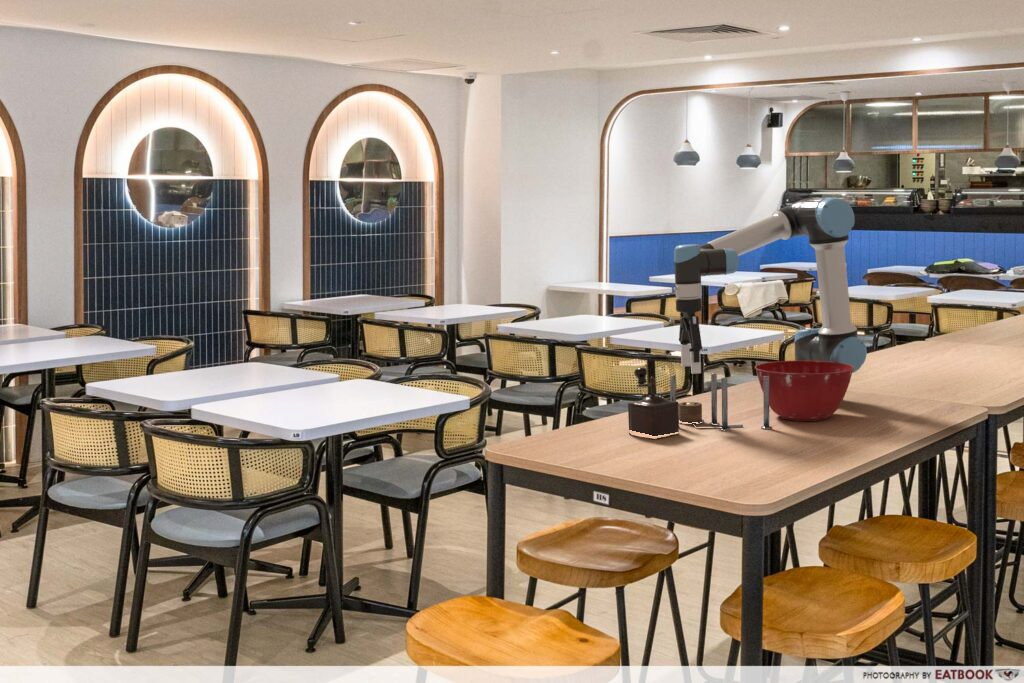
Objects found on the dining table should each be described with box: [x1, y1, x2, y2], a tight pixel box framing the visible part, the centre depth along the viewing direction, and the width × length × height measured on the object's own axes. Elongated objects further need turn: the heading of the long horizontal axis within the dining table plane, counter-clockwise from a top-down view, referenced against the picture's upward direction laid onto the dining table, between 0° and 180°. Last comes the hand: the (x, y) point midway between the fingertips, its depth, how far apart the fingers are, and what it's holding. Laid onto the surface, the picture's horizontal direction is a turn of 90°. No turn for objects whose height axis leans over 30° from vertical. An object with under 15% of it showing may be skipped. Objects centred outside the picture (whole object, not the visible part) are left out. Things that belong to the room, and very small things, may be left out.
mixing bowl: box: [754, 360, 854, 422], centre depth 340 cm, size 28×28×15 cm
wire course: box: [669, 372, 773, 432], centre depth 329 cm, size 12×28×15 cm, turn 93°
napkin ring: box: [678, 401, 703, 423], centre depth 338 cm, size 6×6×5 cm
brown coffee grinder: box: [627, 367, 680, 436], centre depth 324 cm, size 16×11×18 cm
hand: (691, 369), depth 337 cm, fingers open, 13 cm apart
